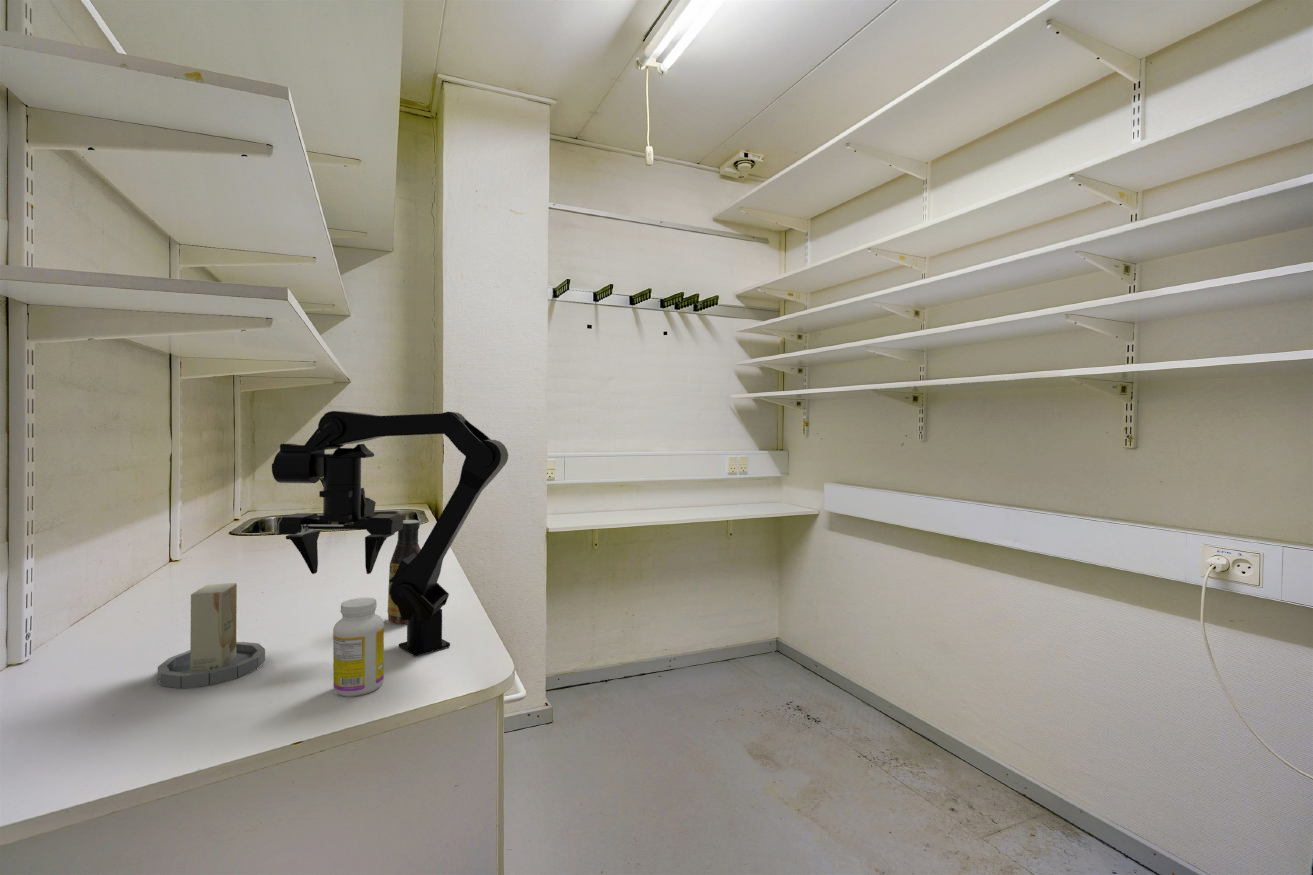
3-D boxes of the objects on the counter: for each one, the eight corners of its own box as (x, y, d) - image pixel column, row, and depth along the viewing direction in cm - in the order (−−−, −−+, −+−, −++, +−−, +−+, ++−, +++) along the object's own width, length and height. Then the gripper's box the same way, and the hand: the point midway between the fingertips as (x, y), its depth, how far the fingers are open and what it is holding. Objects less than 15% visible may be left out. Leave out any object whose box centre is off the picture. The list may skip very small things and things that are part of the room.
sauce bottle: (380, 623, 113) (381, 522, 112) (403, 613, 118) (404, 517, 118) (407, 627, 110) (408, 524, 110) (429, 617, 116) (430, 519, 116)
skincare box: (223, 671, 89) (223, 592, 88) (188, 674, 87) (188, 594, 87) (238, 655, 95) (238, 581, 94) (206, 658, 93) (206, 583, 93)
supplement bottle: (371, 674, 90) (372, 592, 90) (391, 686, 86) (392, 601, 85) (325, 688, 85) (325, 602, 84) (344, 703, 80) (345, 611, 80)
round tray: (274, 668, 91) (274, 657, 91) (167, 696, 82) (167, 683, 81) (251, 646, 100) (251, 636, 100) (152, 669, 90) (152, 657, 90)
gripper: (414, 479, 108) (413, 562, 108) (311, 478, 107) (311, 562, 107) (390, 486, 97) (389, 578, 97) (275, 484, 96) (275, 578, 96)
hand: (341, 573), depth 100 cm, fingers open, 9 cm apart
